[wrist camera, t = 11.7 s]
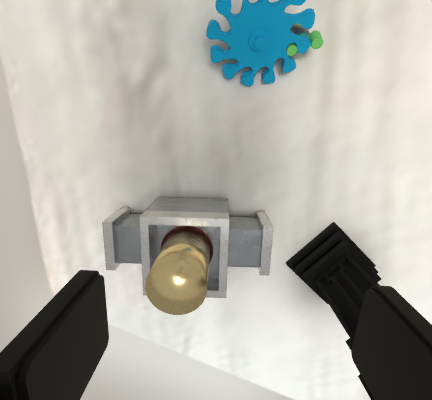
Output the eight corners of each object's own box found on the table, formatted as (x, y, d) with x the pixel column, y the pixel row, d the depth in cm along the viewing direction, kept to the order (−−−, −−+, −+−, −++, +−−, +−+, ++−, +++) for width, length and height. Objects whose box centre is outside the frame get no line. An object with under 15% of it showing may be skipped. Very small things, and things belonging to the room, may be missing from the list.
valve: (121, 195, 33) (90, 214, 25) (265, 199, 33) (278, 220, 25) (125, 258, 35) (98, 293, 28) (260, 262, 35) (271, 299, 27)
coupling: (163, 227, 28) (143, 258, 21) (211, 229, 27) (207, 261, 21) (164, 270, 29) (146, 313, 22) (210, 272, 29) (206, 315, 22)
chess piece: (372, 262, 35) (562, 427, 15) (324, 300, 36) (443, 492, 17) (333, 222, 33) (486, 345, 14) (285, 262, 35) (365, 424, 16)
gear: (200, 83, 28) (215, -35, 20) (202, 50, 31) (215, -64, 23) (298, 96, 30) (351, -7, 21) (290, 64, 33) (334, -38, 24)
